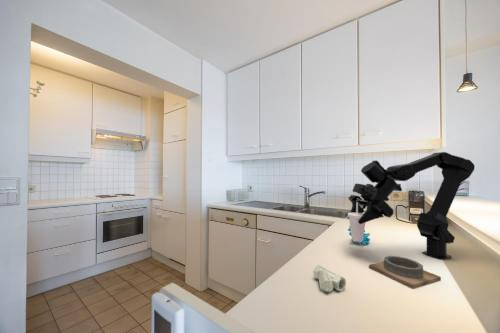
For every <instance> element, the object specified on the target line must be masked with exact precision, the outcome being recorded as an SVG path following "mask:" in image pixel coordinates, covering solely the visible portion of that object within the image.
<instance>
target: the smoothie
mask: <svg viewBox="0 0 500 333" xmlns="http://www.w3.org/2000/svg"><path fill="white" fill-rule="evenodd" d="M363 214H364V212H363V213H358V202H356V213H355V212H351V213H350V212H348V213H347V217H348V216H349V219H348V221H349V226H350V227H349V228H350V230H351V239H352V240H353V241H352V240H351V241H352V242H356V243H357V242H361V243H363V242H362V241H363V236H364V233H365V232H364V230H365V227H366V222H365V223H362V224H359V223H358V221H359V219H360V218H361V217H362V215H363Z"/></svg>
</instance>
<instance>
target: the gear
mask: <svg viewBox="0 0 500 333" xmlns="http://www.w3.org/2000/svg"><path fill="white" fill-rule="evenodd" d="M348 226H349V227H348V229H347V231H349V232H348V234H349V236H351V230H350V225H348ZM365 232H366V230H365V229H364V236H363V241H362V242H357V241H356V243H357V244H358V245H360V244H362V245H361V246H366V245H369V244H370V241H371V238H370V237H369V236H371V234H370V232H367V233H365ZM350 240H351V241H352V242H354V241H353V240H352V238H350Z"/></svg>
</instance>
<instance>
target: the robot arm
mask: <svg viewBox="0 0 500 333" xmlns="http://www.w3.org/2000/svg"><path fill="white" fill-rule="evenodd" d="M435 166H436V167H437V168H439V169H441V174H442V177H443V180H442V182H441V183H440V186H439V188H438V191H437V194H436V196H435V198H434V200H433V202H432V204H431V206H430V209H429V211H427V212H426V213H425V212H421V213H420V214H419V216H418V219H416V222H417V223H416V227H417V229H418V231H419V234H420V236H421V237H425V238H426V250H423V251H422V252H421V253H422V254H424V255H427V256H430V257H433V258H436V259H439V260H447V259H450V258H452V255H449V254H447V251H448V249H447V245H448V244H449V245H450V244H453V243H454V242H455V236H454V235H453V234H452V233H451V232H450V231H449V230H448V229H449V222H448V219H447V216H448V213H449V211H450V209H451V207H452V206H451V205H453V201H454V199H455V197H456V195H457V192H458V191H459V188H460V186H461V183H463V182H465V181H466V180H467V179H469V178H470V177H471V175H472V174H473V172H474V171H475V163H473V162H472V161H471V160H470V159H468V158H467V159H466V158H464V157H460V156H457V155H454V154H451V153H448V152H446V151H441V152H434V153H432V154H430V155H427V156H425V157H422V158H419V159H417V160H414V161H411V162H409V163H405V164H396V165H391V166H388V167H387V168H386V169H385V168H384V166H382V165H381V164H380V162H379V161H378V160H372V162H369V163H367V164H366V165H364V166H363V167H362V168H361V170H360V172H361V173H362V174H363V175H364V176H365V177H366V178H367V180H369V182H371V183H366V184H363V183H355V184H354V186H353V189H352V192H354V193H357V194H359V195H356V194H351V195H350V196H349V197H348V200H349V201H350V203H351V205H352V206H351V209H350V212H349V213H351V212H355V213H356V202H358V213H363V215H362V217H361V218H360V219H359V221H358V223H359V224H362V223H365V224H366V223H368V222H371V221H374V220H378V219H379V218H384V217H386V218H391V217H392V216H393V215H394V214H395V212H394V209H393V208H392V207H391V205H389V203H387V202H389V200H390V199H389V197H390V195H391V194H393V192H394V191H395V192H402V191H403V189H402V186H401V183H397V182H407V181H408V180H410V179H412V178H414V176H415V175H416V174H418V173H420V172H422V171H425V170H427V169H430V168H432V167H435ZM372 183H376V184H375V185H373V184H372ZM365 209H366V210H365ZM347 219H348V220H349V216H348V215H347Z"/></svg>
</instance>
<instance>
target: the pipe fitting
mask: <svg viewBox="0 0 500 333" xmlns="http://www.w3.org/2000/svg"><path fill="white" fill-rule="evenodd" d="M312 273H313V277H314V278H315V279H317V280H318V283H319V288H320V290H321V291H322V292H326V293H332V292H333V290H334V289H335V290H336V291H338V292H342V291H344V289H345V288H346V284H347V281H346V278H345V277H343V276H340V275H339V274H336V273H334V272H332V271H330V270H328V269H326V268H325V267H322V266H321V265H319V264H317V265H316V266H315V267H314V269H313V272H312Z"/></svg>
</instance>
